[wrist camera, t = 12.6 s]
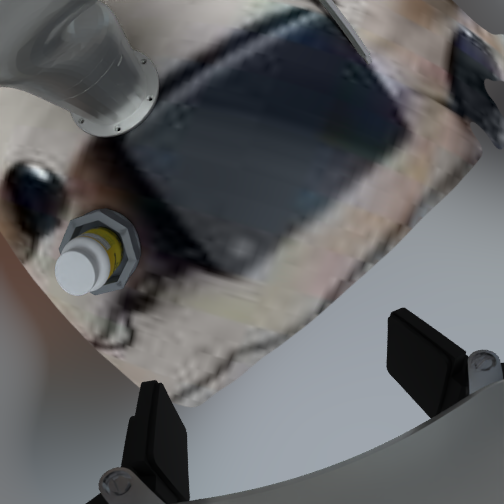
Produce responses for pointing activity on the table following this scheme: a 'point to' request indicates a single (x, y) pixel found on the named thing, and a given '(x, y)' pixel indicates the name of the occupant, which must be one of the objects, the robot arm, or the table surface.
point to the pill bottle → (89, 260)
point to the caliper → (347, 29)
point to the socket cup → (125, 232)
